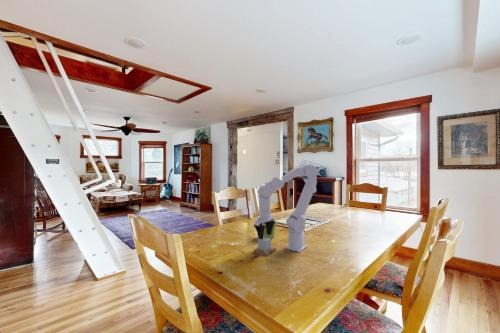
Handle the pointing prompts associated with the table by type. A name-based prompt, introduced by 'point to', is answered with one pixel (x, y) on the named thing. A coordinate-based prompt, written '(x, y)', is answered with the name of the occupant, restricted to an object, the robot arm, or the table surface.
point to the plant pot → (271, 233)
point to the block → (264, 244)
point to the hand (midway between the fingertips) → (264, 236)
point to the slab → (265, 251)
